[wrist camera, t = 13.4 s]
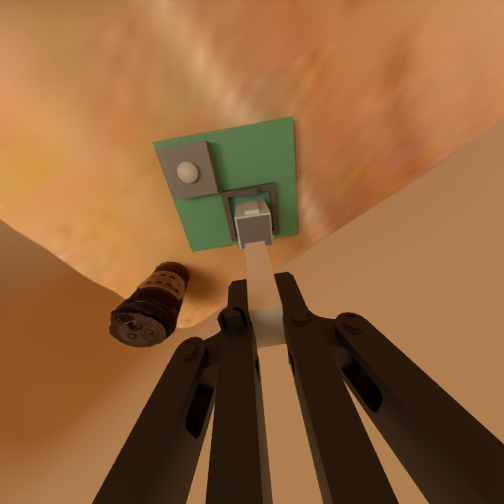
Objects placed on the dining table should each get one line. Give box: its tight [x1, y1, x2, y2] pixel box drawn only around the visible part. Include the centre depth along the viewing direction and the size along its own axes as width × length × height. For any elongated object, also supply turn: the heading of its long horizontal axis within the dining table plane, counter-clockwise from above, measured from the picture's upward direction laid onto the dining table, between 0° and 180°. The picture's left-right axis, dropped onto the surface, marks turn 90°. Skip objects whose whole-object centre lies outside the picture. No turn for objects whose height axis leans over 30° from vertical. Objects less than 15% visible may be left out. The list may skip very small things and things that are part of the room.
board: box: [153, 117, 298, 252], centre depth 26 cm, size 16×18×5 cm
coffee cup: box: [109, 262, 189, 347], centre depth 29 cm, size 9×8×13 cm
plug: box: [234, 198, 273, 249], centre depth 24 cm, size 4×4×8 cm
